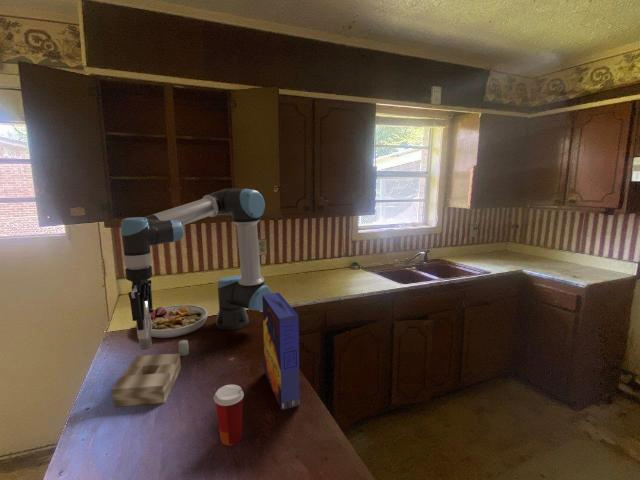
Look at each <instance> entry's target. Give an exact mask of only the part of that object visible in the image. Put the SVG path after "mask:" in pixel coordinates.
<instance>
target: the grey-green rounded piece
mask: <svg viewBox="0 0 640 480" xmlns="http://www.w3.org/2000/svg"><path fill="white" fill-rule="evenodd" d="M177 344H178V353H180V357H185V356H188V355H189V354H190V352H189V351H190V349H189V340H187V339H182V340H180V341H178V343H177Z"/></svg>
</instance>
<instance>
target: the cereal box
mask: <svg viewBox="0 0 640 480" xmlns="http://www.w3.org/2000/svg"><path fill="white" fill-rule="evenodd" d="M262 298H263V309H262V320H263V321H262V323H263V326H262V328H263V353H264V354H263V355H264V356H263V357H264V361H263V362H264V374H265V376H266V379H267V381H268V383H269V385H270V387H271V390H272V394H273V395H274V397H275V400H276V402H277V405H278V407H279V408H280V411H283V410H287V409H288V410H289V409H291V408H295V407H299V406H300V401H301V400H300V332H299V330H300V328H299V327H300V326H299V324H300V321H299V318H300V317H299V316H300V315H298V312H296V310H294V308H292V306H291V305H290V304H289V303H288V301H287V300H286V299H285V298H284V297H283V296H282V294H281V293H280V292H271V293H269V294H264V295H262Z"/></svg>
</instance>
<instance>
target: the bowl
mask: <svg viewBox="0 0 640 480" xmlns="http://www.w3.org/2000/svg"><path fill="white" fill-rule="evenodd" d="M151 310H153V313H150V315H151V326H152V332H151V338H152V337H153V338H158V339H159V338H160V339H163V338H164V339H167V338H168V339H169V338H175V337H181V336H184V335H188V334H190V333H193V332H195V331H197V330H198V329H200V328H202V326H203V325H204V324H205V323H206V321H207V319H208V311H207V309H206V308H204V307H202V306H199V305H195V304H194V305H193V304H177V305H170V306H169V305H168V306H165V307H162V306H159V307H158V306H157V308H155V309H154V308H152V309H151Z"/></svg>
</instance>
